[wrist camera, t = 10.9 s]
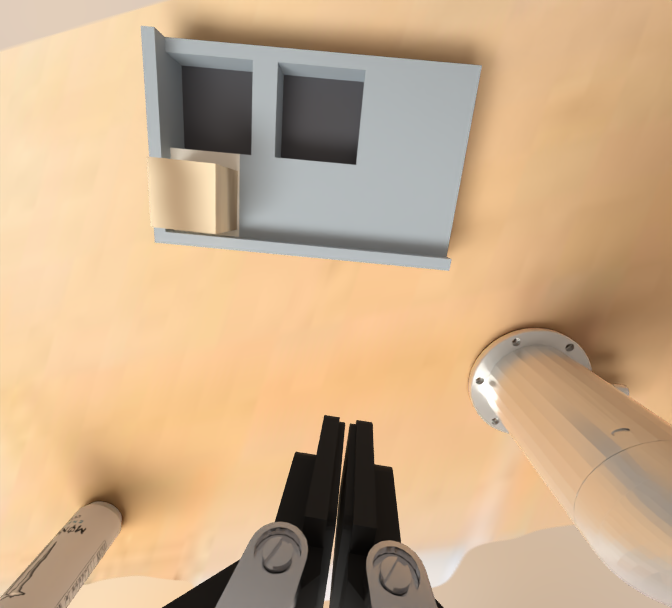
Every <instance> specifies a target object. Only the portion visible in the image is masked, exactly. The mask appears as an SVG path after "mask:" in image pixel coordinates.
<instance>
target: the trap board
mask: <svg viewBox="0 0 672 608" xmlns="http://www.w3.org/2000/svg"><path fill="white" fill-rule="evenodd" d="M141 36H142V52H143V67H144V82H145V98H146V113H147V129H148V144H149V157H157V158H167V159H176V160H186V161H195V162H204V163H214V164H218V165H221V166H224V167H227V168H230V169H233V170H236V171H238V187H237V230H233V231H228V232H223V233H218V234H211V233H202V232H193V231H183V230H174V229H165V228H156V227H154V236H155V242H156V243H166V244H177V245H187V246H197V247H208V248H218V249H229V250H239V251H250V252H260V253H271V254H281V255H291V256H302V257H312V258H323V259H333V260H344V261H354V262H365V263H375V264H386V265H396V266H406V267H417V268H427V269H438V270H448V271H449V269H450V264H451V259H450V258H448V257H446V256H447V251H448V246H449V240H450V235H451V229H452V224H453V219H454V213H455V208H456V203H457V197H458V192H459V186H460V181H461V176H462V170H463V165H464V159H465V154H466V149H467V143H468V138H469V132H470V127H471V122H472V116H473V111H474V105H475V100H476V95H477V89H478V84H479V79H480V73H481V68H482V66H481V65H470V64H459V63H448V62H436V61H425V60H414V59H403V58H392V57H381V56H370V55H359V54H347V53H336V52H325V51H314V50H303V49H292V48H281V47H269V46H258V45H247V44H236V43H225V42H214V41H203V40H191V39H180V38H169V37H164V36H163V35H162V34H161V33H160V32H159V31H158V30H157V29H156V28H155V27H147V26H141Z"/></svg>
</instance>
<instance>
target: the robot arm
mask: <svg viewBox="0 0 672 608" xmlns="http://www.w3.org/2000/svg"><path fill="white" fill-rule="evenodd" d="M468 390H469V396H470V399H471V402H472V404H473V407H474V408H475V410H476V411H477V413H478V415H479V416H480V417H481V418H482V419H483V420H484V421H485V422H486V423H487V424H488V425H490V426H491V427H493V428H495V429H497V430H499V431H501V432H505V433H509V434H510V435H511V436H512V438H513V439H514V440H515V442H516V443H517V445H518V446H519V447H520V449H521V450H522V452H523V453H524V454H525V456H526V457H527V459H528V460H529V461H530V463H531V464H532V466H533V467H534V468H535V470H536V471H537V473H538V474H539V475H540V477H541V478H542V480H543V481H544V482H545V484H546V485H547V487H548V488H549V489H550V491H551V492H552V494H553V495H554V496H555V498H556V499H557V501H558V502H559V503H560V505H561V506H562V508H563V509H564V510H565V512H566V513H567V515H568V516H569V517H570V519H571V520H572V522H573V523H574V524H575V526H576V527H577V529H578V530H579V531H580V532H581V534H582V535H583V537H584V538H585V539H586V541H587V542H588V544H589V545H590V546H591V548H592V549H593V551H594V552H595V553H596V554H597V556H598V557H599V558H600V559H601V561H602V562H603V563H604V564H605V565H606V566H607V567H608V568H609V569H610V570H611V571H612V572H613V573H614V574H615V575H617V576H618V577H619V578H620V579H622V580H623V581H624V582H625V583H627V584H628V585H629V586H631V587H633V588H634V589H636V590H638V591H639V592H640V593H642V594H644V595H646V596H648V597H650V598H652V599H654V600H656V601H658V602H660V603H662V604H664V605H667V606H669V607H671V608H672V425H671V424H669V423H668V422H666V421H665V420H663V419H662V418H660V417H659V416H657V415H656V414H654V413H653V412H651V411H650V410H648V409H647V408H645V407H644V406H642V405H641V404H639V403H638V402H636V401H635V400H633V399H632V398H630V397H629V390H628V388H627V387H626V386H625V385H621V384H611V383H608V382H607V381H605V380H604V379H602V378H601V377H599V376H598V375H596V374H595V373H593V372H592V368H591V364H590V361H589V358H588V357H587V355H586V353H585V351H584V350H583V349H582V348H581V347H580V346H579V345H578V343H576V342H575V341H573V340H572V339H570V338H569V337H567V336H565V335H563V334H561V333H560V332H557V331H554V330H550V329H545V328H526V329H521V330H517V331H513V332H511V333H508V334H506V335H504V336H502V337H500V338H498V339H497V340H495V341H494V342H492V343H491V344H490V345H489V346H488V347H487V348H485V349H484V350H483V352H482V353H481V354H480V355H479V357H478V358H477V359H476V361H475V363H474V365H473V367H472V369H471V373H470V376H469V384H468ZM339 419H340V417H333V416H327V415H324V420H323V425H322V430H321V435H320V440H319V445H318V450H317V455H313V454H307V453H300V452H295V455H294V458H293V461H292V465H291V468H290V472H289V475H288V478H287V482H286V485H285V489H284V492H283V496H282V499H281V503H280V506H279V509H278V513H277V516H276V520H275V522H273V523H270V524H267V525H265V526H263V527H262V528H260V529H259V530H258V531H257V532H256V533H255V534H254V535H253V537H252V538H251V540H250V542H249V544H248V545H247V547H246V549H245V551H244V553H243V555H242V557H241V559H240V560H238V561H237V562H235V563H233V564H232V565H230V566H229V567H227V568H225V569H224V570H222V571H220V572H219V573H217V574H216V575H214V576H212V577H211V578H209V579H208V580H206V581H204V582H203V583H201V584H199V585H198V586H196V587H195V588H193V589H191V590H190V591H188V592H187V593H185V594H184V595H182V596H180V597H179V598H177V599H175V600H174V601H172V602H170V603H169V604H167V605H166V606H164V607H162V608H323V604H324V598H325V591H326V585H327V578H328V572H329V565H330V559H331V552H332V546H333V539H334V533H335V526H336V518H337V526H336V537H335V548H334V560H333V571H332V582H331V593H330V605H329V608H443V607H442V606H441V604H440V603H438V601H437V600H436V599H435V598H434V595H433V592H432V588H431V585H430V582H429V579H428V576H427V572H426V570H425V567H424V565H423V563H422V561H421V559H420V558H419V557H418V556H417V554H416V553H415V552H414V551H413V550H411V549H410V548H409V547H408V546H406V545H404V544H402V543H401V538H400V529H399V521H398V512H397V503H396V494H395V485H394V476H393V470H392V467H387V466H381V465H375V464H374V447H373V424H372V422H366V421H359V420H357V421H356V424H350V427H349V433H348V440H347V446H346V453H345V459H344V466H343V472H342V479H341V486H340V475H341V464H342V453H343V442H344V431H345V423H344V422H339ZM339 486H340V493H339ZM338 497H339V503H338ZM337 508H338V515H337Z"/></svg>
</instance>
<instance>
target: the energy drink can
mask: <svg viewBox="0 0 672 608" xmlns="http://www.w3.org/2000/svg"><path fill="white" fill-rule="evenodd" d="M121 522H122V516H121V513H120V512H119V510H118V509H117V508H116V507H115V506H113V505H111V504H109V503H107V502H102V501H97V502H93V503H91V504H89V505H86V506H83V507H81V508H80V509H79V510H78V511H77V512H76V513H75V515H74V516H73V517H72V518H71V519H70V520H69V521H68V522H67V523H66V525H65V526H64V527H63V528H62V529H61V530H60V531H59V532H58V534H57V535H56V536H55V537H54V538H53V539H52V540H51V541H50V543H49V544H48V545H47V546H46V547H45V548H44V549H43V550H42V551H41V553H40V554H39V555H38V556H37V557H36V558H35V559H34V560H33V562H32V563H31V564H30V565H29V566H28V567H27V568H26V569H25V571H24V572H23V573H22V574H21V575H20V576H19V577H18V578H17V579H16V581H15V582H14V583H13V584H12V585H11V586H10V587H9V588H8V590H7V591H6V592H5V593H4V594H3V595H2V596H1V597H0V608H67V607H68V605H69V604H70V602H71V601H72V599H73V598H74V597H75V595H76V594H77V592H78V591H79V589H80V588H81V587H82V585H83V584H84V582H85V581H86V580H87V578H88V577H89V575H90V574H91V573H92V571H93V570H94V568H95V567H96V565H97V564H98V563H99V561H100V560H101V558H102V557H103V555H104V554H105V553H106V551H107V550H108V548H109V547H110V546H111V544H112V543H113V541H114V540H115V538H116V537H117V536H118V534H119V533H120V531H121Z"/></svg>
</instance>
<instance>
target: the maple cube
mask: <svg viewBox="0 0 672 608" xmlns="http://www.w3.org/2000/svg"><path fill="white" fill-rule="evenodd" d="M147 170H148V188H149V205H150V223H151V227H156V228H165V229H174V230H183V231H193V232H202V233H211V234H218V233H223V232H228V231H233V230H237V187H238V171H236V170H233V169H230V168H227V167H224V166H221V165H218V164H214V163H204V162H195V161H186V160H176V159H167V158H157V157H148V156H147Z"/></svg>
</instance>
